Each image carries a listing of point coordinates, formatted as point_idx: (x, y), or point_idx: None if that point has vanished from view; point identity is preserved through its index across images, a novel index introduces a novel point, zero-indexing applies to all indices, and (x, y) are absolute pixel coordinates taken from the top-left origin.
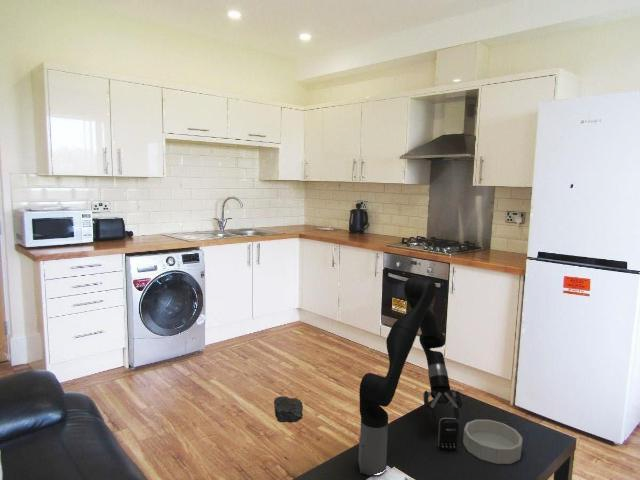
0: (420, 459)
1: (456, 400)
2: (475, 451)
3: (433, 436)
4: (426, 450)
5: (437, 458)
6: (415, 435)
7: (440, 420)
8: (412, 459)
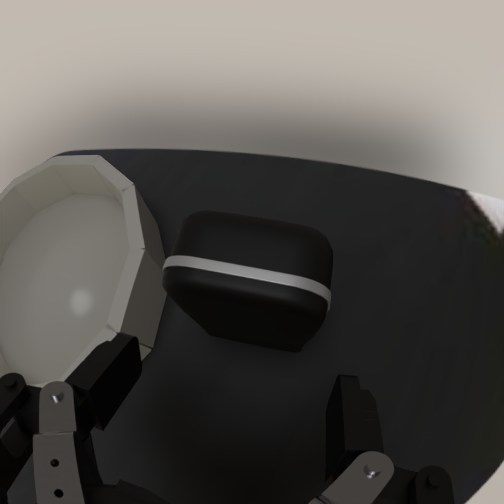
0: (418, 254)
1: (9, 467)
2: (155, 234)
3: (285, 437)
4: (376, 315)
5: (345, 251)
6: None
7: (328, 290)
8: (446, 259)
